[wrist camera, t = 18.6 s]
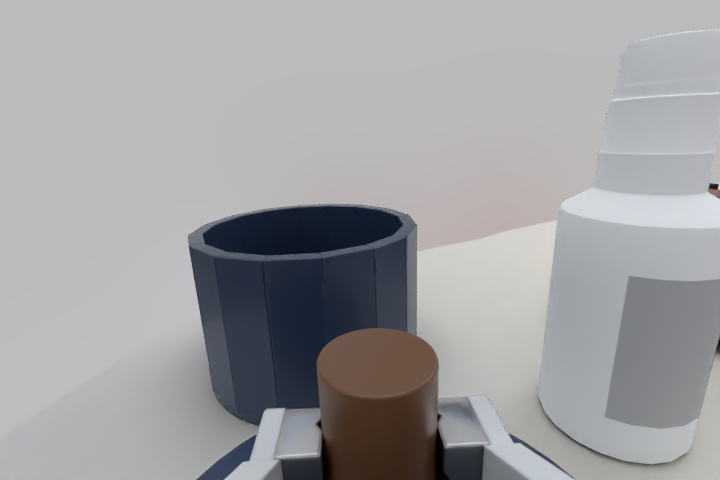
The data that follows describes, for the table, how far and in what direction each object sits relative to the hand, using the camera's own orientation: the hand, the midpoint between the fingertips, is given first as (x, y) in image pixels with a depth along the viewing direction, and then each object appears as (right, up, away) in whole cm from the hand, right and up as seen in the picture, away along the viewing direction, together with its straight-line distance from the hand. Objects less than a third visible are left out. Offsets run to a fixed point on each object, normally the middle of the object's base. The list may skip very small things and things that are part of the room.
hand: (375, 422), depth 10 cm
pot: (-3, -3, +17) cm, 17 cm away
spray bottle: (+13, -5, +11) cm, 17 cm away
